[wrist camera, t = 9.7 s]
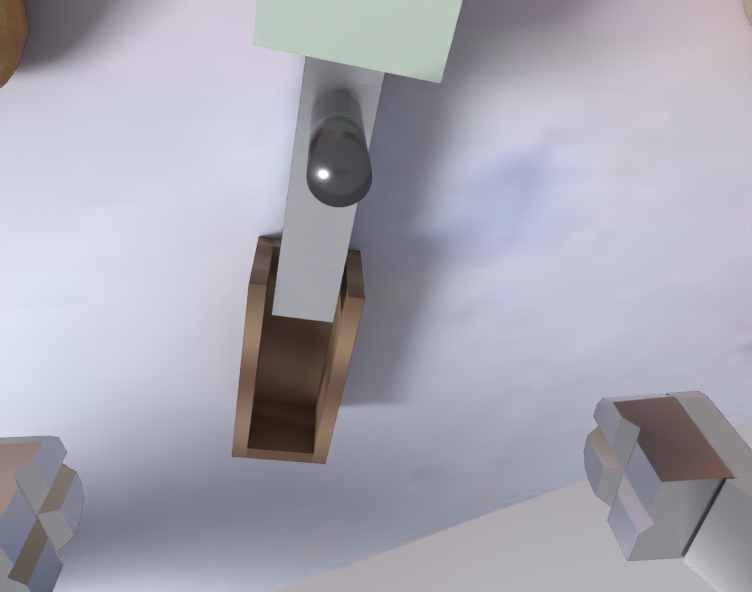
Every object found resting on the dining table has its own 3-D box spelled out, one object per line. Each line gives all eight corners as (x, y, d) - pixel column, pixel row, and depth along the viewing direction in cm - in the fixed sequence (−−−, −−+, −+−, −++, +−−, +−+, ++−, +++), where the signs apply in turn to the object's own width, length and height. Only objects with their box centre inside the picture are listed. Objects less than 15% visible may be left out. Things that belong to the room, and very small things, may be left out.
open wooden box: (325, 408, 37) (325, 464, 33) (241, 399, 36) (231, 456, 32) (360, 251, 30) (365, 298, 26) (258, 236, 29) (248, 283, 25)
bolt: (332, 288, 30) (333, 411, 23) (276, 281, 30) (259, 404, 22) (400, -54, 21) (438, -34, 14) (322, -73, 21) (320, -64, 14)
